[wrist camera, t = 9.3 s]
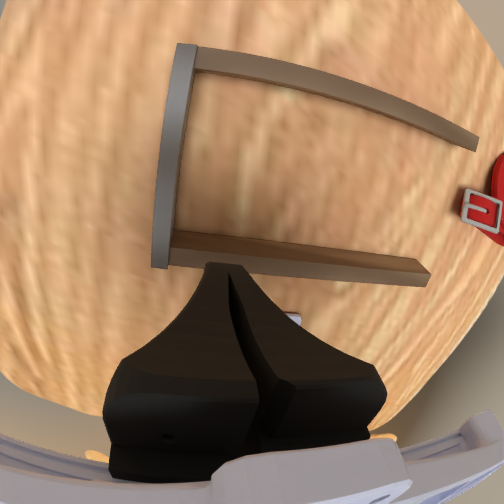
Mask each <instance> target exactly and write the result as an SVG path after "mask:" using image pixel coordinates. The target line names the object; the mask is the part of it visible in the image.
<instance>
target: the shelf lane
mask: <svg viewBox="0 0 504 504" xmlns="http://www.w3.org/2000/svg"><path fill="white" fill-rule="evenodd" d="M195 72H203V73H211V74H218V75H225V76H231V77H238V78H243V79H249V80H255V81H260V82H265V83H270V84H275V85H279V86H284V87H288V88H292V89H297V90H301V91H305V92H309V93H313V94H317V95H320V96H324V97H328V98H331V99H335V100H338V101H341V102H345V103H348V104H351V105H354V106H358V107H361V108H364V109H367V110H370V111H373V112H376V113H378V114H381V115H384V116H387V117H390V118H392V119H395V120H398V121H400V122H403V123H405V124H408V125H411V126H413V127H416V128H418V129H420V130H423V131H425V132H428V133H430V134H432V135H435V136H437V137H439V138H441V139H444V140H446V141H448V142H450V143H452V144H454V145H457V146H460V147H463V148H465V149H468V150H471V151H474V152H476V149H477V145H478V141H479V137H478V136H476V135H475V134H473V133H471V132H469V131H467V130H465V129H464V128H462V127H460V126H458V125H456V124H454V123H452V122H450V121H448V120H446V119H444V118H442V117H440V116H438V115H436V114H434V113H432V112H430V111H427V110H425V109H423V108H421V107H419V106H416V105H414V104H412V103H410V102H407V101H405V100H402V99H400V98H398V97H395V96H393V95H390V94H388V93H385V92H382V91H380V90H377V89H375V88H372V87H369V86H366V85H363V84H361V83H358V82H355V81H352V80H349V79H346V78H343V77H339V76H336V75H333V74H330V73H326V72H323V71H319V70H316V69H312V68H309V67H305V66H301V65H297V64H293V63H289V62H285V61H280V60H276V59H271V58H267V57H262V56H257V55H251V54H246V53H240V52H234V51H228V50H221V49H214V48H206V47H198V46H197V45H193V44H182V43H177V47H176V51H175V56H174V62H173V67H172V72H171V78H170V83H169V89H168V95H167V102H166V108H165V115H164V122H163V129H162V136H161V144H160V153H159V161H158V171H157V181H156V192H155V204H154V217H153V233H152V253H151V268H160V269H168V265H173V266H183V267H192V268H202V269H205V264H206V263H207V262H218V263H228V264H238V265H242V266H243V267H244V268H245V270H246V271H247V272H248V273H253V274H264V275H275V276H286V277H297V278H309V279H321V280H333V281H346V282H358V283H372V284H385V285H399V286H414V287H426V285H427V283H428V281H429V279H430V277H431V274H430V273H429V272H428V271H427V270H426V269H425V268H424V267H423V266H422V265H421V264H420V263H419V262H418V261H417V260H416V259H411V258H403V257H395V256H388V255H380V254H372V253H364V252H357V251H349V250H341V249H333V248H324V247H316V246H308V245H300V244H292V243H283V242H275V241H266V240H258V239H249V238H241V237H232V236H223V235H214V234H205V233H196V232H187V231H178V230H173V228H174V218H175V208H176V198H177V189H178V181H179V173H180V165H181V157H182V150H183V143H184V136H185V129H186V123H187V116H188V110H189V104H190V98H191V93H192V87H193V82H194V76H195Z"/></svg>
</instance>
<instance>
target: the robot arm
mask: <svg viewBox="0 0 504 504" xmlns="http://www.w3.org/2000/svg"><path fill="white" fill-rule="evenodd" d="M301 322H302V319H301V316H300V315H299V314H290V313H284V312H283V311H282V310H281V309H280V308H278V307H277V306H276V305H275V304H274V303H273V302H272V301H271V299H270V298H269V297H268V296H267V295H266V294H265V293H264V292H263V291H262V289H261V288H260V287H259V286H258V285H257V284H256V282H255V281H254V280H253V279H252V277H251V276H250V275H249V273H248V272H247V271H246V270H245V268H244V267H243V266H242V265H238V264H228V263H218V262H207V263H206V264H205V270H204V274H203V277H202V279H201V281H200V283H199V285H198V287H197V289H196V291H195V292H194V294H193V295H192V297H191V298H190V300H189V302H188V303H187V304H186V306H185V307H184V308H183V310H182V311H181V312H180V313H179V315H178V316H177V317H176V318H175V319H174V320H173V321H172V322H171V323H170V324H169V325H168V326H167V327H166V328H165V329H164V330H163V331H162V332H161V333H160V334H159V335H157V336H156V337H155V338H154V339H152V340H151V341H150V342H149V343H147V344H146V345H145V346H143V347H142V348H140V349H139V350H137V351H135V352H134V353H132V354H131V355H129V356H127V357H126V358H124V359H122V360H121V362H120V364H119V366H118V367H117V369H116V371H115V373H114V375H113V377H112V379H111V382H110V384H109V387H108V390H107V393H106V397H105V402H104V406H103V411H102V412H103V420H104V423H105V426H106V429H107V432H108V435H109V438H110V441H111V450H110V458H109V463H105V462H99V461H94V460H89V459H84V458H80V457H76V456H71V455H67V454H63V453H59V452H56V451H52V450H48V449H45V448H41V447H38V446H35V445H32V444H29V443H25V442H23V441H20V440H17V439H14V438H11V437H8V436H5V435H3V434H0V504H443V503H445V502H447V501H449V500H451V499H453V498H455V497H456V496H458V495H460V494H462V493H463V492H465V491H467V490H469V489H470V488H472V487H474V486H475V485H477V484H478V483H479V482H481V481H482V480H484V479H485V478H486V477H488V476H489V475H490V474H492V473H493V472H494V471H495V470H497V469H498V468H499V467H500V466H502V465H503V464H504V431H503V429H502V428H501V426H500V424H499V423H498V422H497V420H496V418H495V416H494V415H493V413H492V412H491V410H490V409H487V410H485V411H482V412H480V413H477V414H475V415H473V416H472V417H470V418H469V419H467V420H466V421H465V422H464V423H463V424H462V426H461V427H460V428H459V429H458V430H456V431H453V432H451V433H448V434H445V435H442V436H440V437H436V438H434V439H431V440H428V441H424V442H421V443H418V444H415V445H412V446H408V447H405V448H401V449H399V448H398V446H397V444H396V443H395V442H394V441H393V439H390V438H375V439H369V438H370V433H369V431H368V428H367V426H368V425H369V423H370V422H371V421H372V420H373V419H374V417H375V416H376V415H377V414H378V412H379V411H380V410H381V408H382V406H383V405H384V403H385V401H386V398H387V390H386V387H385V385H384V383H383V382H382V380H381V378H380V376H379V374H378V372H377V370H376V368H375V367H374V365H372V364H369V363H367V362H364V361H362V360H360V359H357V358H355V357H352V356H350V355H348V354H345V353H343V352H342V351H340V350H338V349H336V348H334V347H332V346H330V345H328V344H327V343H325V342H323V341H321V340H320V339H318V338H317V337H315V336H314V335H312V334H311V333H309V332H308V331H306V330H305V329H303V328H302V327H301V326H300V324H301Z"/></svg>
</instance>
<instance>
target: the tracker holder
mask: <svg viewBox="0 0 504 504" xmlns="http://www.w3.org/2000/svg"><path fill="white" fill-rule="evenodd" d="M470 194H471V195H470ZM491 195H492V196H491V197H490V196H487V195H485V194H482V193H479V192H476V191H474V190H471V189H468V188H466V189H465V192H464V196H463V200H462V205H461V212H460V220H461V222H464V223H467V224H470V225H473V226H475V227H477V228H478V229H479V230H481V231H482V232H483V233H485V234H486V235H487V236H489V237H490V238H491V239H492V240H494V241H495V242H496V243H498V244H499V245H502V246H504V154H502V155H501V156H500V157H499V158H498V159H497V161H496V164H495V166H494V170H493V174H492V182H491Z"/></svg>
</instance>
